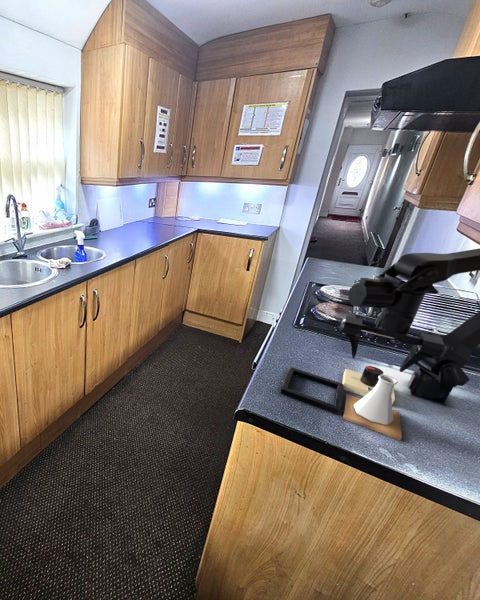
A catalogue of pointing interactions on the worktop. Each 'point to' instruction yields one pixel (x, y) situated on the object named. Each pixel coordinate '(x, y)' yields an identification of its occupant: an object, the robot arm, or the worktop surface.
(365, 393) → the cream flat block
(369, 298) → the robot arm
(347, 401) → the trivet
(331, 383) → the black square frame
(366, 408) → the flask
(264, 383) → the worktop surface
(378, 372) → the knob
